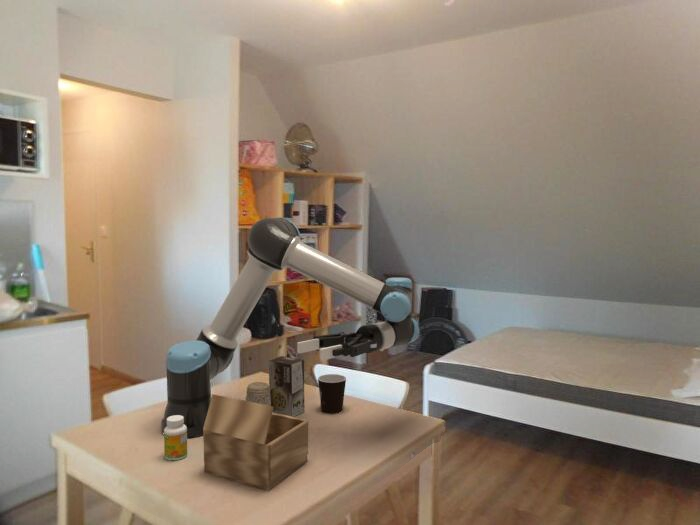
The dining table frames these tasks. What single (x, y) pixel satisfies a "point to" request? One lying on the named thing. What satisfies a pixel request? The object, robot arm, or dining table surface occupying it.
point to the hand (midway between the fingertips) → (309, 351)
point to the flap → (238, 418)
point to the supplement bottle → (175, 438)
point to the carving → (259, 393)
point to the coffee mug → (331, 392)
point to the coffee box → (287, 385)
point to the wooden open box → (259, 453)
